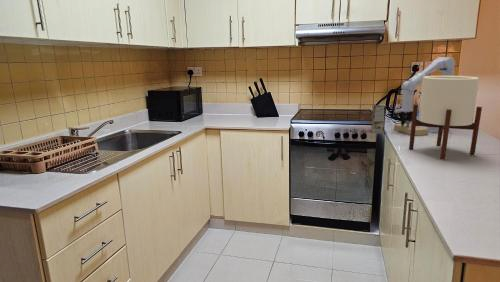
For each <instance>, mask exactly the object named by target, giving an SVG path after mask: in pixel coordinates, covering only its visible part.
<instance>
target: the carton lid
mask: <svg viewBox="0 0 500 282" xmlns="http://www.w3.org/2000/svg"><path fill="white" fill-rule="evenodd" d="M393 125H396V126H399V127H402V128H405V129H408V130H411V125H412V123H411V121H407V120H406V119H405V124H404V125H402V124H401V123H395V124H393ZM424 130H428V129H427V127H424V126H416V129H415V131H424Z"/></svg>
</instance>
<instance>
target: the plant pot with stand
mask: <svg viewBox="0 0 500 282" xmlns="http://www.w3.org/2000/svg"><path fill="white" fill-rule="evenodd" d="M479 81H480V78H479V77H477V76H467V75H453V76H442V75H427V76H425V77H423V81H422V83H421V90H420V91H421V93H420V101H419V104H418V103H414V104H413V105H412V108H413V115H412V119H411V124H412V125H411V134H410V135H409V144H408V149H409V150H410V151H413V150H414V146H415V145H414V144H415V137H416V136H415V129H416V126H419V127H423V128H427V127H439V129H438V132H437V137H436V138H437V139H436V146H437V147H441V149H440V158H439V160H441V159H445V160H446V155H447V147H448V146H447V145H448V140H449V131H450V129H453V130H454V129H457V130H469V131H470V130H471V131H472V136H471V143H470V149H469V155H470V154H471V155H470V156H472V155H474V154H475V155H476V148H477V142H478V135H479V129H480V122H481V117H482V110H483V106H476V101H477V96H478V90H479V88H478V87H479ZM475 108H476V111H475ZM418 109H419V110H418ZM417 111H418V112H417ZM474 114H475V116H474ZM473 121H474V122H473ZM443 130H444V132H443ZM475 155H474V156H475Z"/></svg>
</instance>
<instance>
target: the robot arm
mask: <svg viewBox="0 0 500 282" xmlns="http://www.w3.org/2000/svg"><path fill="white" fill-rule="evenodd" d="M456 63H457V62H456V61H455V59H454V57H451V56H450V57H449V56H448V57H443V56H442V57H441V56H437V57H436V58H435V59H434V60H432V62H431V63H430V64H429V65H428V66H427V67H426V68H424V70H422V72H421V71H420V72H415V74H414V75H413V76H412V77H411V78H408V80H405V81H404V82H403V83H402V85H401V90H402V100H401V108H397V109H394V114H398V116H399V119H400V124H402V125H404V124H406V123H405V120H407V121H410V122H412V115H413V105H414V104H413V102H414V95H415V94H414V92H415V91H416V90H417V88H418V86H419V85H420V84H422V81H423V77H425V76H430V74H432V73H433V72H434V71H436V70H439V71H440V72H441V73H442V74H441V76H454V74H455V67H456V65H457V64H456ZM417 113H419V108H418V111H417ZM426 129H428V133H429V132H430V133H438V129H439V127H426ZM442 133H444V130H443V132H442Z"/></svg>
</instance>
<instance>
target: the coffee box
mask: <svg viewBox="0 0 500 282" xmlns="http://www.w3.org/2000/svg"><path fill="white" fill-rule="evenodd" d="M386 115H387V106H386V105H384V104H374V105H372V117H371V119H372V120H371V132H372V134H380V135H381V134H385V126H386V125H385V124H386Z"/></svg>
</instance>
